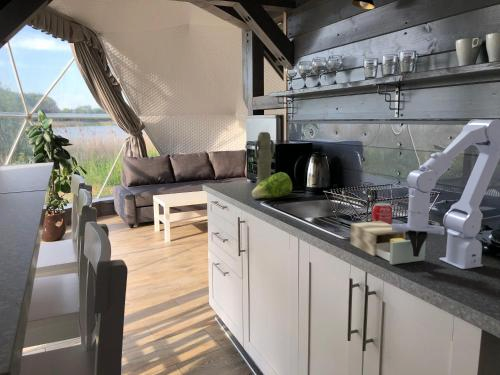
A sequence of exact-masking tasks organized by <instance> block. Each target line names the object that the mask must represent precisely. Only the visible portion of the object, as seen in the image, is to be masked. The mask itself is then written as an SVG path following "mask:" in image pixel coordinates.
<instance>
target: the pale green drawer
mask: <svg viewBox="0 0 500 375" xmlns="http://www.w3.org/2000/svg"><path fill="white" fill-rule="evenodd" d="M426 241H427V239H426V240H425V242H424V243H423V245H422V247H421V250H420V252H419V257H414V256H413V248H412V244H411V241H410V239H405V240H404V241H396V242H391V243H390V242H383V243H381V242H378V243H377V242H376V256H378V257H380V258H382V259H384V260H386V261H388V262H389V264H390V265H398V264H399V265H400V264H406V263H412V262H413V263H414V262H421V261H425V258H426V244H427V243H426ZM416 246H417V243H416ZM389 251H390V253H389Z"/></svg>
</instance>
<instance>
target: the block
mask: <svg viewBox="0 0 500 375" xmlns="http://www.w3.org/2000/svg"><path fill="white" fill-rule="evenodd" d="M404 240H406V238H405V239H402V238H395V239H390V243H391V242H396V241H404ZM389 253H390V251H389Z"/></svg>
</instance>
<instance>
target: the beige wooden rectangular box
mask: <svg viewBox="0 0 500 375" xmlns="http://www.w3.org/2000/svg"><path fill="white" fill-rule="evenodd" d="M395 238H402V239H405V240H406V231H392V224H391V225H390V224H388V223H385V222H382V221H372V220H371V221H363V222H351V223H350V238H349V239H350V240H349V241H350V242H349V244H350V245H352V246H353V247H355V248H358V249H359V250H361V251H363V252H365V253H367V254H369V255H371V256H373V257H376V256H377V255H376V243H377V242H378V243H383V242H390V239H395Z"/></svg>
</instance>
